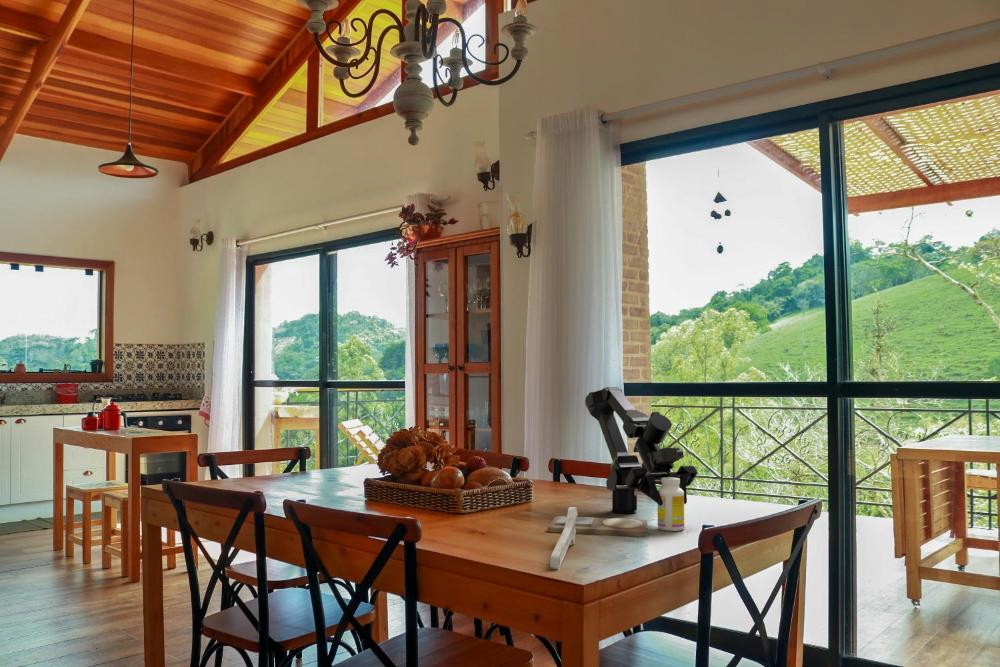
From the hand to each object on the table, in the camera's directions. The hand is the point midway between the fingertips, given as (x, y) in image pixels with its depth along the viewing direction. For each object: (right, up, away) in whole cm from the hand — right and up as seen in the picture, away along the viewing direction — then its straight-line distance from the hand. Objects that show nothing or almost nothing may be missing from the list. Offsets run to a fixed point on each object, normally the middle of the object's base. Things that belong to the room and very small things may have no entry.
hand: (673, 503), depth 210 cm
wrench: (-30, -6, -26) cm, 40 cm away
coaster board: (-19, -7, +2) cm, 20 cm away
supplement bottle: (0, -7, +1) cm, 7 cm away
